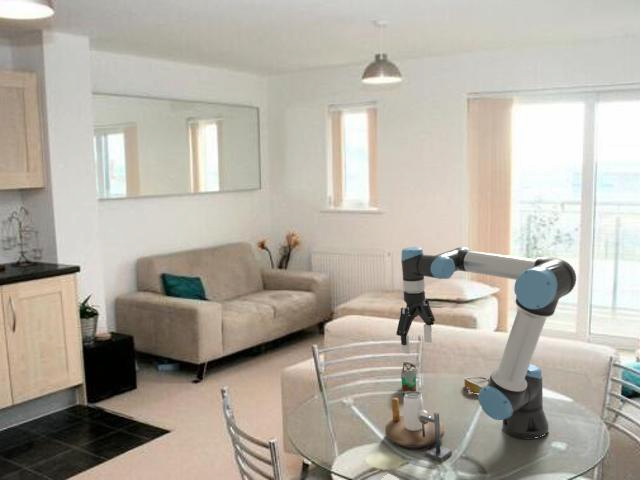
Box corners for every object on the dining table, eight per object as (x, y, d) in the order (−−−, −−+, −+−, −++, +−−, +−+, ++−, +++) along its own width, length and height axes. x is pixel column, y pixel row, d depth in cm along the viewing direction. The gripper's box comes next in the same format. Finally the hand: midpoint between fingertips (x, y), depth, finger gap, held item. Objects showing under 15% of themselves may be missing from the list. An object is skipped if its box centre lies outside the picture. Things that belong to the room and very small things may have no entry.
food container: (418, 396, 256) (416, 372, 255) (402, 396, 258) (400, 372, 256) (419, 384, 268) (418, 361, 266) (404, 384, 269) (403, 361, 268)
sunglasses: (457, 387, 263) (457, 375, 262) (487, 383, 269) (488, 372, 268) (478, 399, 250) (479, 386, 249) (509, 395, 256) (510, 383, 255)
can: (401, 425, 225) (400, 392, 222) (418, 421, 227) (417, 389, 224) (410, 433, 219) (408, 400, 216) (427, 429, 220) (425, 396, 218)
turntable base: (447, 435, 223) (447, 429, 223) (420, 454, 212) (420, 448, 212) (410, 423, 234) (409, 417, 234) (382, 441, 223) (381, 435, 223)
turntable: (441, 417, 232) (440, 392, 230) (447, 445, 212) (445, 417, 210) (385, 419, 234) (383, 394, 232) (385, 447, 214) (383, 420, 212)
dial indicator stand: (451, 454, 211) (449, 412, 208) (441, 462, 206) (439, 419, 204) (425, 445, 218) (423, 405, 215) (415, 452, 214) (412, 411, 211)
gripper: (425, 281, 242) (428, 335, 246) (383, 297, 225) (387, 355, 228) (442, 283, 237) (445, 339, 241) (401, 300, 220) (404, 360, 223)
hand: (417, 347), depth 235 cm, fingers open, 13 cm apart
